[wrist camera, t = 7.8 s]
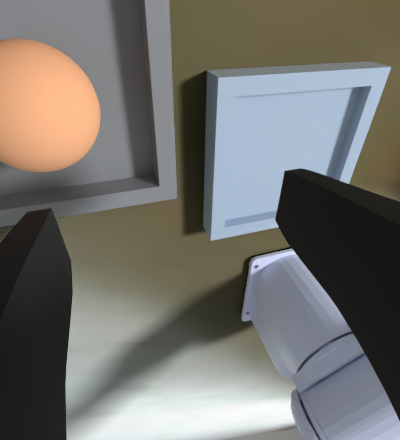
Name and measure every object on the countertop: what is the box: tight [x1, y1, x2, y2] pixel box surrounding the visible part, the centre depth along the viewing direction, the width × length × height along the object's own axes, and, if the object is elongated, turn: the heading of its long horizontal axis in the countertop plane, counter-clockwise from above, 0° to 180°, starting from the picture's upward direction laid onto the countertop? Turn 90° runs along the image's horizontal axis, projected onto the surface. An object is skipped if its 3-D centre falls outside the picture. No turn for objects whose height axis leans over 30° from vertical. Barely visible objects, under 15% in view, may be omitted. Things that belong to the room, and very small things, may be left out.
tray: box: [0, 0, 177, 227], centre depth 14 cm, size 12×12×2 cm
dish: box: [203, 61, 391, 241], centre depth 21 cm, size 11×11×2 cm
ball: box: [0, 39, 100, 172], centre depth 12 cm, size 5×5×5 cm
